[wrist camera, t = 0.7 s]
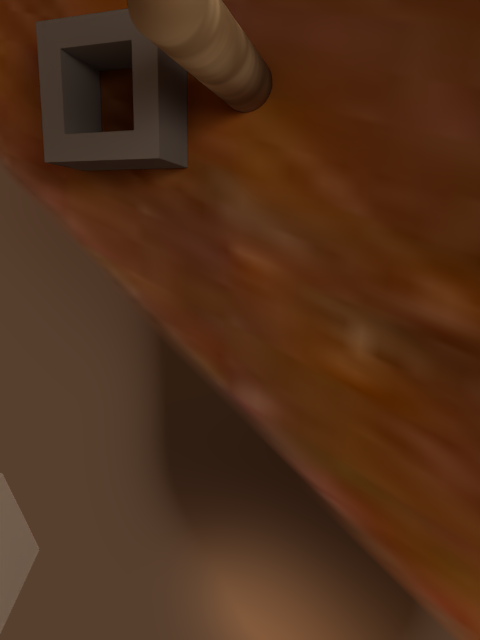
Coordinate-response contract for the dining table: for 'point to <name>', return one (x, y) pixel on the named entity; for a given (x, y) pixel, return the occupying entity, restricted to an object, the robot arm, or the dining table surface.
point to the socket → (85, 96)
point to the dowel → (207, 47)
